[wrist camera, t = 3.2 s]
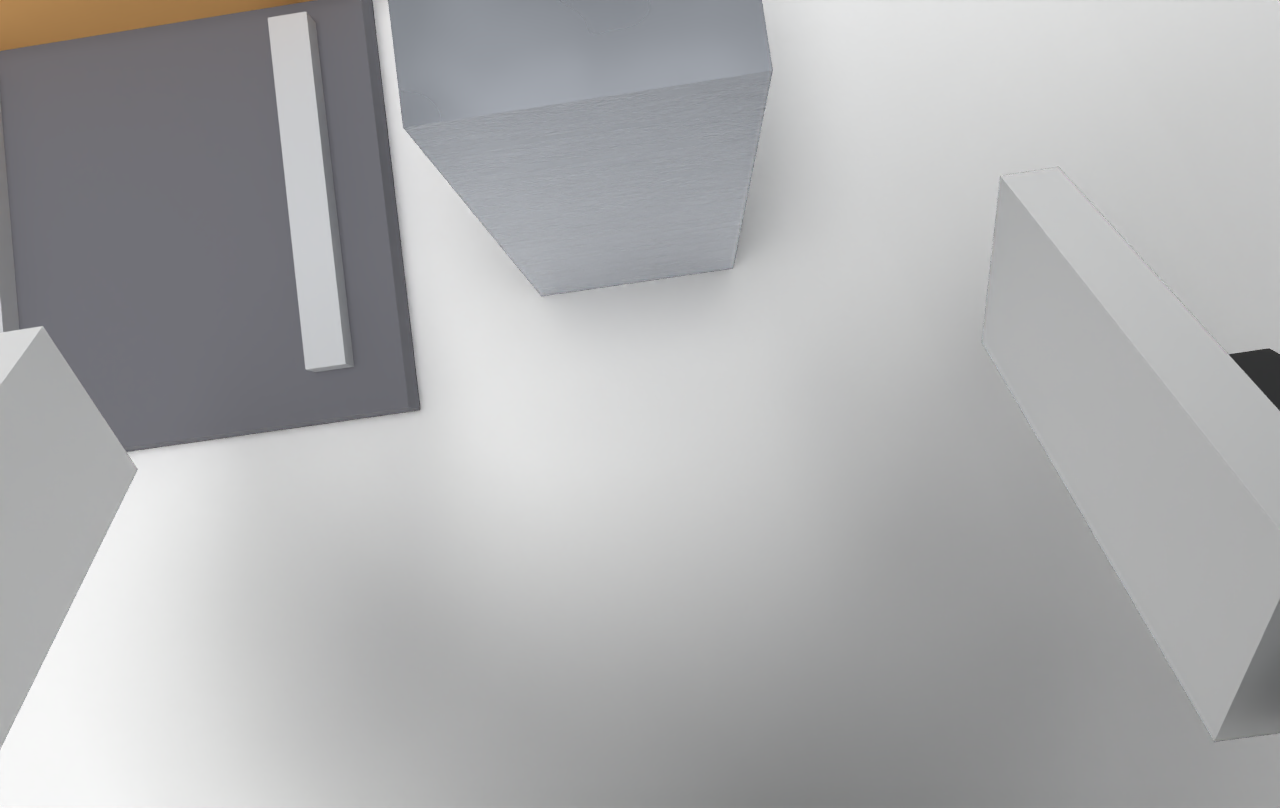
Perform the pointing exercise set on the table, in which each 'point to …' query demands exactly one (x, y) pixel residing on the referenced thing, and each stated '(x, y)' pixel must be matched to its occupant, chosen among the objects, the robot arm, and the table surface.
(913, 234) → the table surface
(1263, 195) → the table surface
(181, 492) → the table surface
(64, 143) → the coupler dock
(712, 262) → the alu block
